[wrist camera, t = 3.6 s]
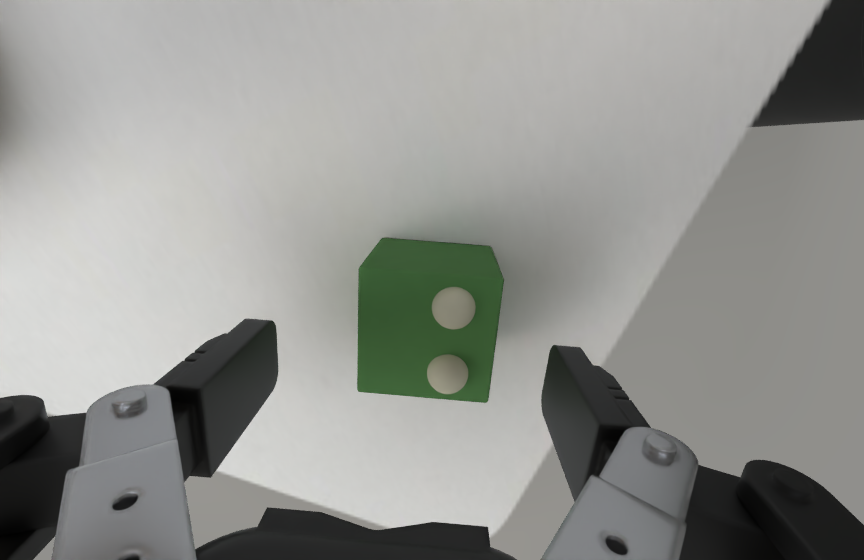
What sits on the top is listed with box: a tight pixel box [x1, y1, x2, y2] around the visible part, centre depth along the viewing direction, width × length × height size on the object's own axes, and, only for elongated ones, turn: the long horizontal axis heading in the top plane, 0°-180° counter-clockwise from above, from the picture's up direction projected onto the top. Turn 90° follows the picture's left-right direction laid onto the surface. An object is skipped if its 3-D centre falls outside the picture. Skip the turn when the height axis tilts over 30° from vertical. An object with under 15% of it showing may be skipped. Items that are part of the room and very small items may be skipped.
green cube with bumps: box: [357, 238, 504, 403], centre depth 15 cm, size 5×5×5 cm
